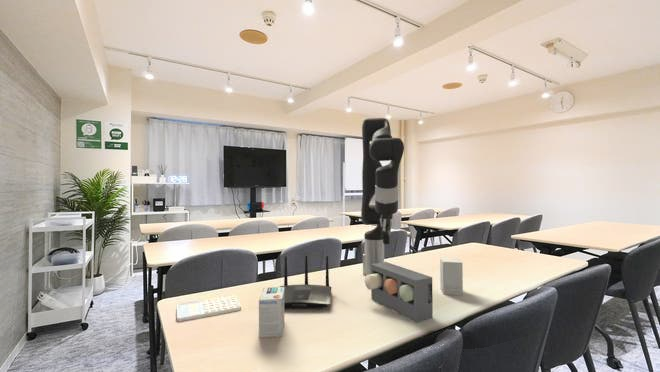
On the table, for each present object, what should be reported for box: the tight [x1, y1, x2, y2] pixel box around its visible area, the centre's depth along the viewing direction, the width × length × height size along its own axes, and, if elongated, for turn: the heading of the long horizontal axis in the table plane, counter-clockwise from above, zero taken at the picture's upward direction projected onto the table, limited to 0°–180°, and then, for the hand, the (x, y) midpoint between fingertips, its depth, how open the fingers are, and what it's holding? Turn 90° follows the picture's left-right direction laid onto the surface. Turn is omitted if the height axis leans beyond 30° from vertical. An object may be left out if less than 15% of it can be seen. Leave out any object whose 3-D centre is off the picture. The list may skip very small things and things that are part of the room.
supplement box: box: [439, 257, 464, 296], centre depth 120 cm, size 7×7×13 cm
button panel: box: [370, 261, 434, 324], centre depth 105 cm, size 7×23×13 cm, turn 29°
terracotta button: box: [384, 278, 398, 295], centre depth 104 cm, size 5×5×5 cm
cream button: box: [364, 273, 383, 290], centre depth 109 cm, size 5×5×5 cm
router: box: [279, 254, 332, 310], centre depth 113 cm, size 21×20×15 cm
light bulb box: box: [258, 286, 285, 338], centre depth 90 cm, size 11×7×11 cm, turn 5°
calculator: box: [176, 294, 242, 322], centre depth 105 cm, size 13×20×2 cm, turn 117°
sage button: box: [399, 284, 414, 302], centre depth 97 cm, size 5×5×5 cm
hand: (386, 243), depth 106 cm, fingers closed
